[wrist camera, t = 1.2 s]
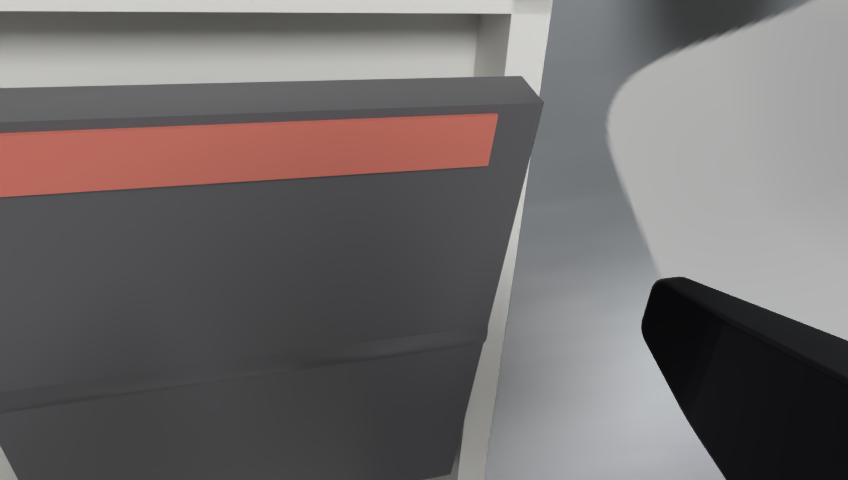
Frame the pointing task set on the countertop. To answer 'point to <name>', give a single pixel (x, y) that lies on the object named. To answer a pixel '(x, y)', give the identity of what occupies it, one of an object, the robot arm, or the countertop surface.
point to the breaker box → (290, 61)
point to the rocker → (251, 274)
